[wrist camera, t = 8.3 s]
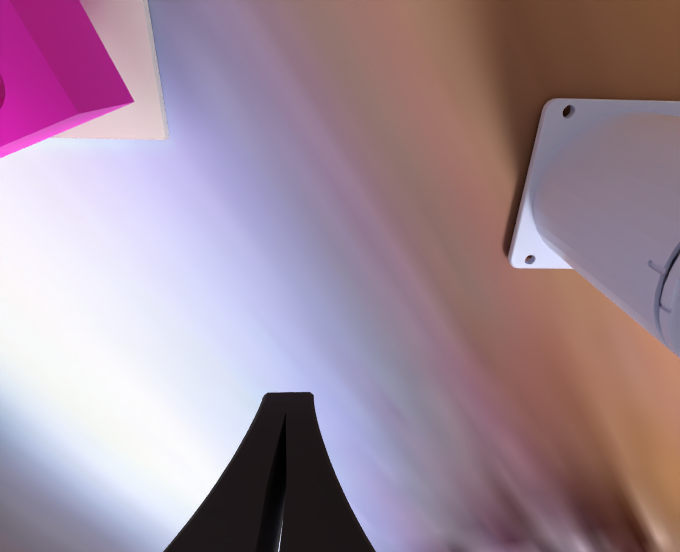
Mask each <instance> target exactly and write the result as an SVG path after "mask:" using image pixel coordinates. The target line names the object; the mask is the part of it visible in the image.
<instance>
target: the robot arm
mask: <svg viewBox="0 0 680 552" xmlns="http://www.w3.org/2000/svg"><path fill="white" fill-rule="evenodd" d="M568 105H569V106H570V112H569V114H568V115H567V116H566V117H564V116H563V110H564V108H565V107H566V106H568ZM529 255H532V257H531V259H530V260H528V261H525V259H526V257H527V256H529ZM508 261H509V263H510V264H511V265H512V266H513V267H515V268H569V269H574V270H576V271H577V272H578V273H579V274H580V275H581V276H583V277H584V278H585V279H586V280H587V281H589V282H590V283H591V284H592V285H593V286H595V287H596V288H597V289H598V290H599V291H600V292H602V293H603V294H604V295H605V296H606V297H608V298H609V299H610V300H611V301H612V302H613V303H615V304H616V305H617V306H618V307H619V308H621V309H622V310H623V311H624V312H625V313H627V314H628V315H629V316H630V317H631V318H632V319H634V320H635V321H636V322H637V323H638V324H640V325H641V326H642V327H643V328H644V329H646V330H647V331H648V332H649V333H650V334H651V335H653V336H654V337H655V338H656V339H657V340H659V341H660V342H661V343H662V344H663V345H665V346H666V347H667V348H668V349H669V350H670V351H672V352H673V353H674V354H676V355H677V356H678V357H679V358H680V101H658V100H615V99H573V98H554V99H551V100H549V101H548V102H547V103H546V104H545V105H544V107H543V110H542V113H541V118H540V122H539V126H538V130H537V135H536V139H535V143H534V148H533V152H532V156H531V160H530V165H529V169H528V173H527V178H526V182H525V186H524V190H523V195H522V199H521V203H520V208H519V212H518V216H517V220H516V225H515V229H514V233H513V238H512V242H511V246H510V250H509V255H508ZM282 521H283V524H282ZM281 528H282V533H281ZM280 535H281V542H280V550H279V552H376V551H375V550H374V548H373V546H372V545H371V543H370V541H369V540H368V538H367V536H366V535H365V533H364V531H363V529H362V527H361V526H360V524H359V522H358V520H357V518H356V516H355V514H354V512H353V511H352V509H351V507H350V505H349V503H348V501H347V499H346V496H345V494H344V492H343V490H342V488H341V486H340V483H339V481H338V479H337V476H336V474H335V472H334V469H333V467H332V464H331V462H330V459H329V456H328V453H327V451H326V448H325V445H324V442H323V439H322V436H321V433H320V429H319V425H318V421H317V417H316V413H315V407H314V395H313V394H312V393H310V392H281V393H267V394H265V395H264V397H263V399H262V402H261V404H260V407H259V409H258V411H257V413H256V416H255V418H254V420H253V422H252V424H251V426H250V428H249V430H248V431H247V433H246V435H245V437H244V439H243V440H242V442H241V444H240V446H239V447H238V449H237V451H236V453H235V454H234V456H233V458H232V459H231V461H230V462H229V464H228V466H227V467H226V469H225V470H224V472H223V473H222V475H221V477H220V478H219V480H218V481H217V483H216V484H215V486H214V487H213V489H212V490H211V491H210V493H209V494H208V496H207V497H206V498H205V500H204V501H203V503H202V504H201V505H200V507H199V508H198V509H197V511H196V512H195V513H194V515H193V516H192V517H191V518H190V520H189V521H188V522H187V523H186V525H185V526H184V527H183V528H182V530H181V531H180V532H179V533H178V535H177V536H176V537H175V538H174V539H173V541H172V542H171V543H170V544H169V545H168V547H167V548H166V549H165V550H164V551H163V552H278V548H279V541H280Z"/></svg>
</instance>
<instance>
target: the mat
mask: <svg viewBox="0 0 680 552" xmlns="http://www.w3.org/2000/svg"><path fill="white" fill-rule="evenodd" d="M79 1H80V3H81V4H82V6H83V8H84V10H85V12H86V13H87V15H88V17H89V19H90V21H91V23H92V24H93V26H94V28H95V30H96V32H97V34H98V35H99V37H100V39H101V41H102V43H103V45H104V46H105V48H106V50H107V52H108V54H109V56H110V57H111V59H112V61H113V63H114V65H115V67H116V68H117V70H118V72H119V74H120V76H121V78H122V79H123V81H124V83H125V85H126V87H127V89H128V90H129V92H130V94H131V96H132V98H133V100H134V101H135V102H133V103H131V104H129V105H126V106H124V107H121V108H119V109H117V110H114V111H112V112H109V113H107V114H105V115H102V116H100V117H97V118H95V119H93V120H90V121H88V122H85V123H83V124H81V125H78V126H76V127H73V128H71V129H69V130H66V131H64V132H61V133H59V134H57V135H54V136H52V137H49V138H96V139H148V140H167V139H169V138H170V137H169V130H168V124H167V118H166V112H165V106H164V99H163V93H162V87H161V81H160V75H159V68H158V62H157V56H156V50H155V44H154V37H153V31H152V25H151V19H150V13H149V6H148V0H79Z"/></svg>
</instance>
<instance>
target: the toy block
mask: <svg viewBox="0 0 680 552" xmlns="http://www.w3.org/2000/svg"><path fill="white" fill-rule="evenodd" d="M133 102H135V101H134V100H133V98H132V96H131V94H130V92H129V90H128V89H127V87H126V85H125V83H124V81H123V79H122V78H121V76H120V74H119V72H118V70H117V68H116V67H115V65H114V63H113V61H112V59H111V57H110V56H109V54H108V52H107V50H106V48H105V46H104V45H103V43H102V41H101V39H100V37H99V35H98V34H97V32H96V30H95V28H94V26H93V24H92V23H91V21H90V19H89V17H88V15H87V13H86V12H85V10H84V8H83V6H82V4H81V3H80V1H79V0H0V158H2V157H4V156H6V155H9V154H11V153H14V152H16V151H18V150H21V149H23V148H25V147H28V146H30V145H33V144H35V143H37V142H40V141H42V140H45V139H47V138H49V137H52V136H54V135H57V134H59V133H61V132H64V131H66V130H69V129H71V128H73V127H76V126H78V125H81V124H83V123H85V122H88V121H90V120H93V119H95V118H97V117H100V116H102V115H105V114H107V113H109V112H112V111H114V110H117V109H119V108H121V107H124V106H126V105H129V104H131V103H133Z"/></svg>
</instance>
